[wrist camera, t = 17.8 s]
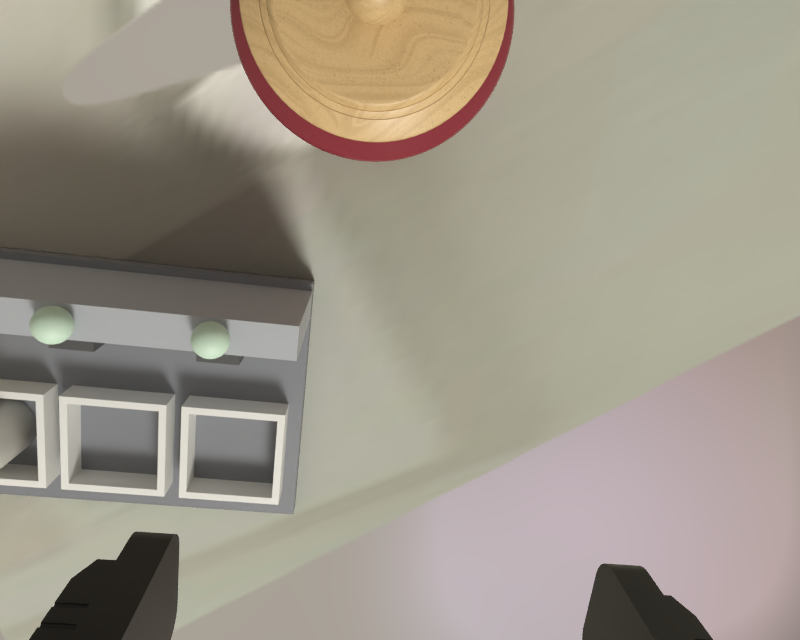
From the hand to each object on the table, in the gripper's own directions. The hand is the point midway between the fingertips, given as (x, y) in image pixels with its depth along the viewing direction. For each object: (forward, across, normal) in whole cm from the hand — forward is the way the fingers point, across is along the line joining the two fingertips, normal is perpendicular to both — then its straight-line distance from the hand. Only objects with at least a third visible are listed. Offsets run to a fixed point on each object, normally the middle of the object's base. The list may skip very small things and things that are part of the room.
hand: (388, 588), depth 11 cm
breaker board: (+32, +16, +10) cm, 37 cm away
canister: (+32, +1, -14) cm, 35 cm away
